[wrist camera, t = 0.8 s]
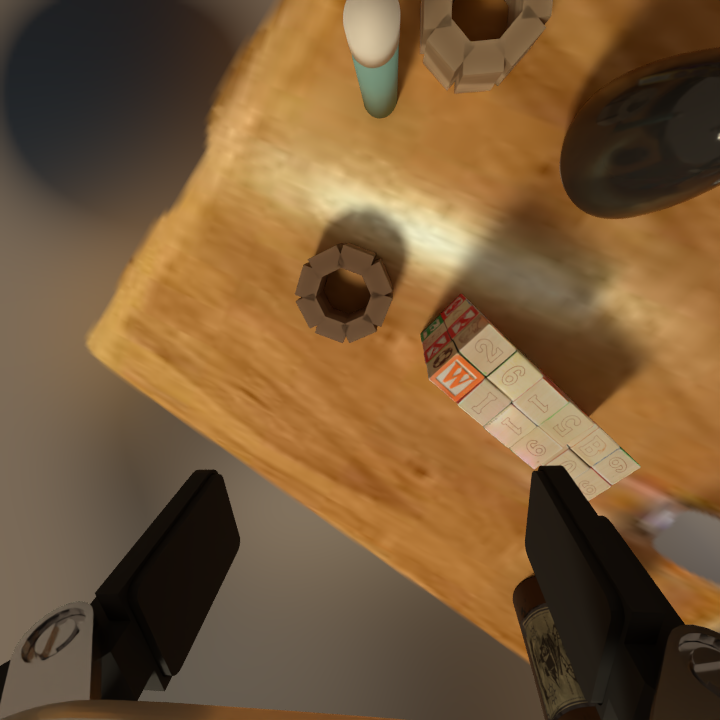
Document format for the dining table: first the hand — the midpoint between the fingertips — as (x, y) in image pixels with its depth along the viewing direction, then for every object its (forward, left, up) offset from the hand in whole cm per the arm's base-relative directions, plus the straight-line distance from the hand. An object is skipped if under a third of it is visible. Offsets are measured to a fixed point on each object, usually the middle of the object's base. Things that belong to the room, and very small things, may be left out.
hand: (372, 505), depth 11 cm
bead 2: (-16, -18, -29) cm, 38 cm away
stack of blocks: (-9, +13, -29) cm, 33 cm away
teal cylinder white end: (-7, -17, -29) cm, 34 cm away
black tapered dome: (-23, -4, -29) cm, 37 cm away
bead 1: (+3, -3, -29) cm, 29 cm away
